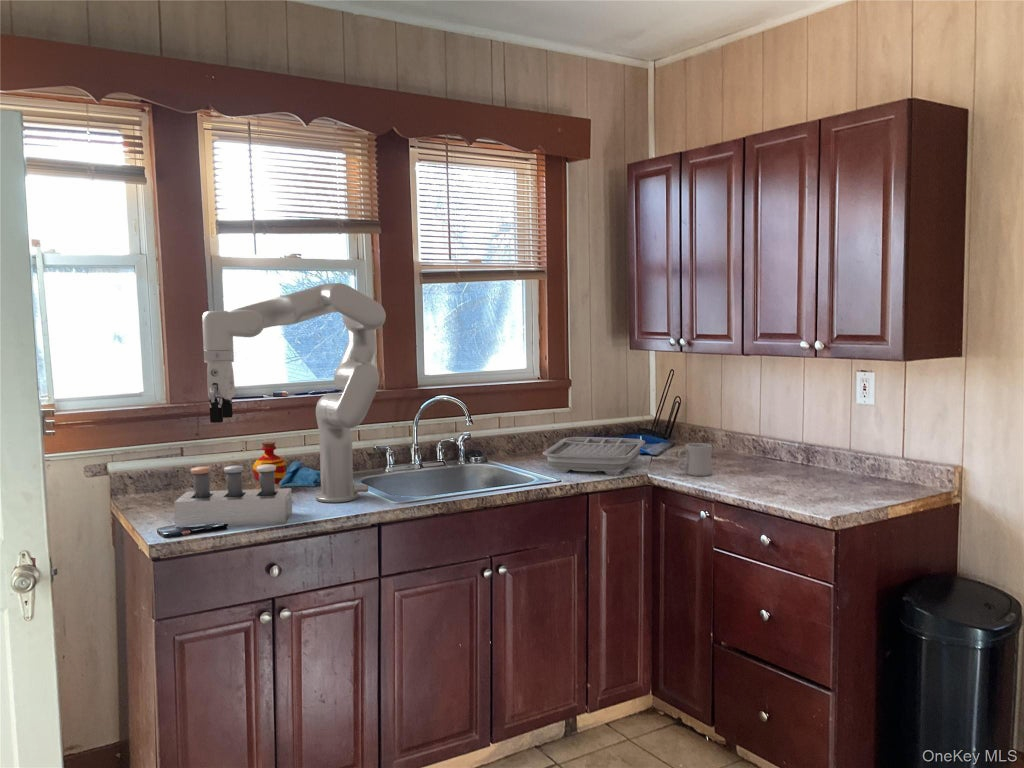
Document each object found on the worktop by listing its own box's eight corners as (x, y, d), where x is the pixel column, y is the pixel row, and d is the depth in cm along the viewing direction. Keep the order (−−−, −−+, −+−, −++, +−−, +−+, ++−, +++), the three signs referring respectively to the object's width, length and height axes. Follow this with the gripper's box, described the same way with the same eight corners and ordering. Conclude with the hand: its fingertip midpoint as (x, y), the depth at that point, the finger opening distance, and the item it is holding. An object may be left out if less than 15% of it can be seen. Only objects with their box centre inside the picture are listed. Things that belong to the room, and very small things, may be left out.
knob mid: (246, 494, 223) (245, 465, 222) (242, 498, 218) (241, 468, 217) (227, 494, 222) (226, 465, 221) (223, 499, 217) (222, 469, 216)
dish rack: (537, 474, 279) (537, 451, 279) (565, 456, 314) (565, 435, 313) (629, 480, 269) (629, 456, 268) (647, 460, 304) (647, 438, 303)
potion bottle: (250, 488, 260) (248, 441, 258) (283, 485, 265) (282, 439, 263) (256, 495, 251) (254, 446, 249) (290, 491, 255) (289, 443, 254)
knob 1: (214, 495, 222) (212, 466, 221) (209, 499, 217) (208, 469, 216) (194, 496, 221) (193, 466, 220) (189, 500, 216) (188, 470, 215)
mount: (292, 512, 228) (291, 488, 228) (285, 523, 216) (284, 497, 216) (187, 516, 225) (186, 491, 224) (175, 528, 213) (174, 501, 212)
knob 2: (278, 493, 224) (277, 464, 223) (275, 497, 219) (274, 467, 218) (259, 493, 223) (258, 464, 222) (256, 497, 218) (255, 468, 218)
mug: (704, 470, 282) (704, 442, 281) (717, 475, 274) (717, 446, 273) (671, 472, 279) (671, 443, 278) (683, 478, 270) (683, 448, 269)
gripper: (224, 358, 211) (227, 424, 213) (241, 354, 229) (243, 415, 230) (194, 359, 211) (198, 424, 212) (213, 355, 228) (216, 416, 230)
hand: (221, 419), depth 221 cm, fingers open, 9 cm apart
